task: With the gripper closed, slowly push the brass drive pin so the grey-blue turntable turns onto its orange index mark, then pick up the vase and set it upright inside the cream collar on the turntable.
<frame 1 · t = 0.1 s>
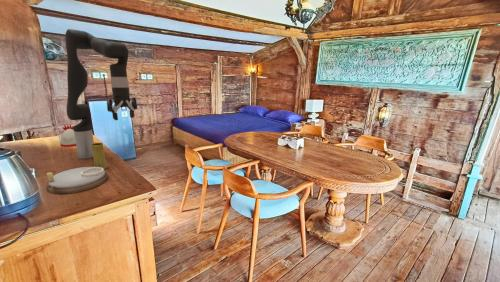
hand: (124, 118, 119), 29 cm above the cabinet, tool pointing down, fingers open, 8 cm apart
turntable base: (79, 182, 114), on the cabinet
kitchen timer: (72, 144, 174), on the cabinet
turntable: (77, 172, 112), point 5 cm above the cabinet, hinge at -30.0°
vase: (101, 168, 131), on the cabinet
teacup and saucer: (66, 139, 187), on the cabinet
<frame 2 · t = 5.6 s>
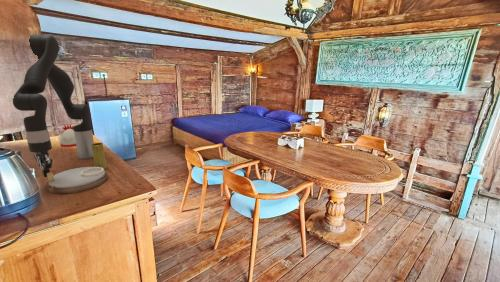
hand: (47, 176, 107), 5 cm above the cabinet, tool pointing down, fingers closed
turntable: (77, 172, 112), point 5 cm above the cabinet, hinge at -30.0°, touching gripper
everything else where it was.
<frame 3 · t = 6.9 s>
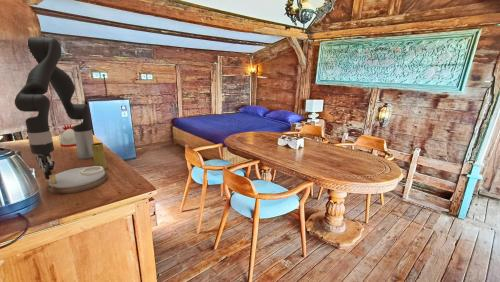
hand: (48, 178, 105), 5 cm above the cabinet, tool pointing down, fingers closed
turntable: (77, 172, 112), point 5 cm above the cabinet, hinge at -10.5°, touching gripper
everything else where it was.
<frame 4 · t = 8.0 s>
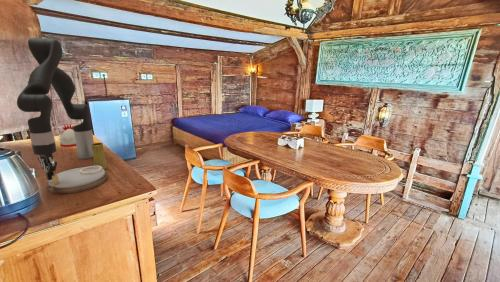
hand: (51, 179, 104), 5 cm above the cabinet, tool pointing down, fingers closed
turntable: (77, 172, 112), point 5 cm above the cabinet, hinge at 0.1°, touching gripper
everything else where it was.
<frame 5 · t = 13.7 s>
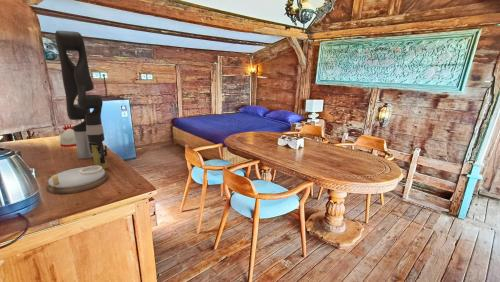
hand: (100, 162, 129), 4 cm above the cabinet, tool pointing down, fingers closed on vase, 5 cm apart
turntable: (77, 172, 112), point 5 cm above the cabinet, hinge at 0.1°
vase: (101, 168, 131), on the cabinet, touching gripper
everything else where it was.
when the fingers open (9 cm above the cabinet, at t = 19.1 s): vase drops 1 cm, resting on turntable.
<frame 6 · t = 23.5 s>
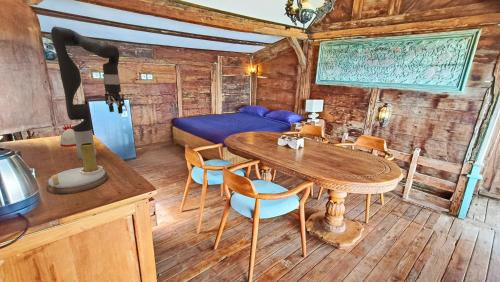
hand: (116, 112, 132), 30 cm above the cabinet, tool pointing down, fingers open, 8 cm apart
turntable: (77, 172, 112), point 5 cm above the cabinet, hinge at -0.2°, touching vase
vase: (91, 171, 118), point 3 cm above the cabinet, touching turntable
at the end: turntable at +0° (first picture: -30°); vase 0.2 cm from the target spot on the turntable, point 3.4 cm above the turntable's base; vase tilted 0° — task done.
